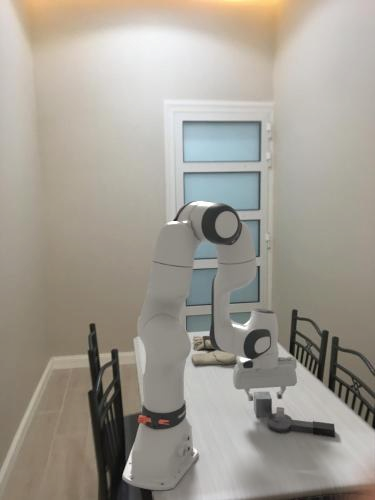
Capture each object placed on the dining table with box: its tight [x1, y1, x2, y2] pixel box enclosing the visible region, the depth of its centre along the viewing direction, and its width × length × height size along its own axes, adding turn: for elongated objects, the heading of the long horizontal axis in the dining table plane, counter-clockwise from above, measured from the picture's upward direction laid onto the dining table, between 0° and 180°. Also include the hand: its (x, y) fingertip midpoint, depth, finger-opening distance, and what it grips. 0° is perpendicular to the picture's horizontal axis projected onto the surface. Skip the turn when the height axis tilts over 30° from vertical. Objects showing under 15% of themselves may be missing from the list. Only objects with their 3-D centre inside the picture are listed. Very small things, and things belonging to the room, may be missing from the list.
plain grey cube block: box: [253, 391, 273, 418], centre depth 131 cm, size 5×5×6 cm
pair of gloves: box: [190, 334, 237, 366], centre depth 183 cm, size 30×26×5 cm
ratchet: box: [268, 406, 336, 438], centre depth 121 cm, size 7×19×6 cm, turn 74°
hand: (265, 399), depth 131 cm, fingers open, 8 cm apart
